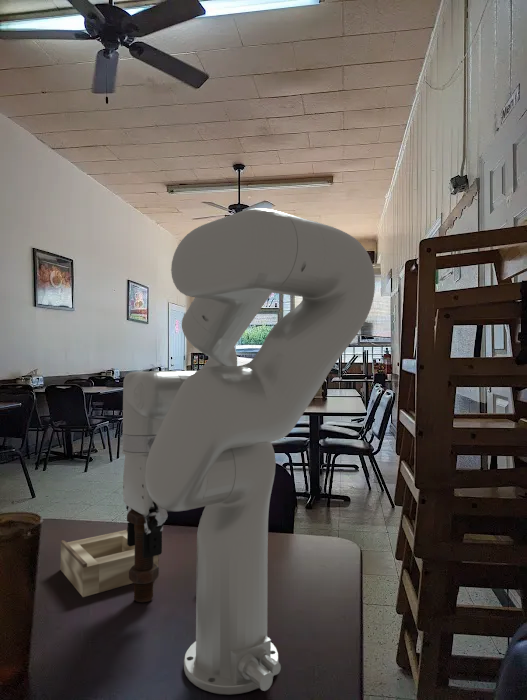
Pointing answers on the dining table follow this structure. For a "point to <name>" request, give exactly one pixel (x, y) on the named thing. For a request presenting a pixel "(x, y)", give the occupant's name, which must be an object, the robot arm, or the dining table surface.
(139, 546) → the bolt
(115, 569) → the socket
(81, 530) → the dining table surface
